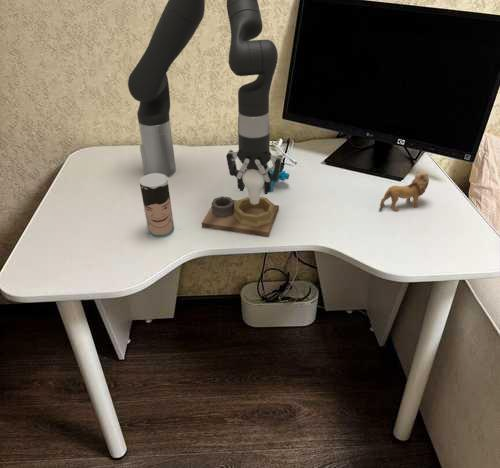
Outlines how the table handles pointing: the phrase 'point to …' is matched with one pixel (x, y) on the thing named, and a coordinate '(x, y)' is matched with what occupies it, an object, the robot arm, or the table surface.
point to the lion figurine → (407, 191)
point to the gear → (279, 177)
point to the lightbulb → (253, 184)
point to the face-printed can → (157, 204)
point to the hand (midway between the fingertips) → (254, 191)
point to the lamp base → (236, 224)
